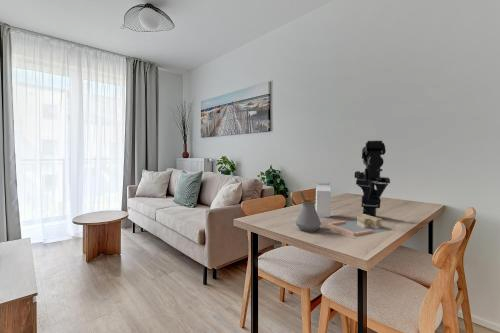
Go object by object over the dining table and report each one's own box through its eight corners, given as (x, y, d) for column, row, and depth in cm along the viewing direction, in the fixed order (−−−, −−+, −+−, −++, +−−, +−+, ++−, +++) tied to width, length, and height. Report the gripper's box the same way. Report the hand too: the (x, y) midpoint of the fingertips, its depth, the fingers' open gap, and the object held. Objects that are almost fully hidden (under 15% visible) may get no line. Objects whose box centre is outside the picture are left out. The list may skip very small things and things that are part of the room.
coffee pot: (324, 232, 108) (325, 199, 107) (298, 232, 108) (299, 199, 107) (311, 219, 130) (311, 191, 129) (289, 219, 129) (289, 191, 128)
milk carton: (330, 218, 131) (330, 183, 130) (316, 218, 132) (317, 183, 131) (328, 215, 138) (329, 182, 137) (315, 214, 139) (316, 181, 138)
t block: (363, 221, 122) (363, 214, 122) (381, 227, 113) (382, 218, 113) (351, 223, 118) (352, 215, 118) (369, 229, 109) (370, 220, 109)
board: (356, 221, 126) (356, 218, 125) (390, 232, 109) (390, 227, 109) (325, 227, 116) (325, 222, 116) (356, 239, 100) (356, 234, 100)
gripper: (370, 165, 130) (369, 194, 131) (346, 166, 120) (345, 197, 121) (391, 166, 120) (390, 197, 121) (367, 167, 111) (366, 202, 112)
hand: (372, 198), depth 119 cm, fingers open, 9 cm apart
